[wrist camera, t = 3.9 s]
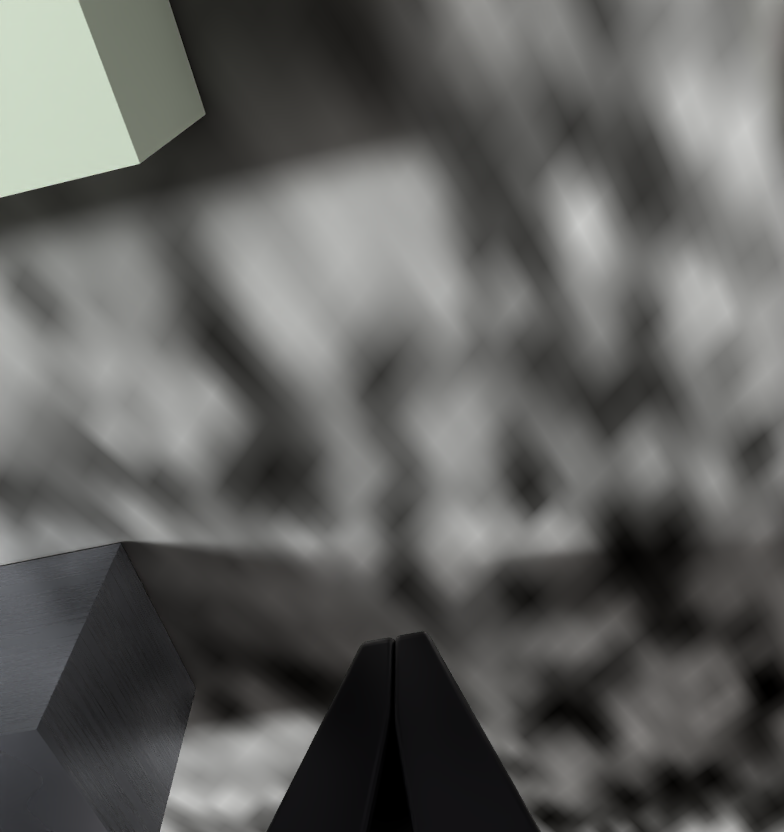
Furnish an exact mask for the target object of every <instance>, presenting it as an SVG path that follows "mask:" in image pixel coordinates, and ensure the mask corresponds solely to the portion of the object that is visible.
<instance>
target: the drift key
mask: <svg viewBox="0 0 784 832" xmlns="http://www.w3.org/2000/svg"><path fill="white" fill-rule="evenodd" d="M195 689H196V688H195V686H194V684H193V682H192V680H191V678H190V676H189V674H188V672H187V671H186V669H185V667H184V665H183V663H182V661H181V659H180V657H179V655H178V653H177V651H176V649H175V647H174V645H173V643H172V641H171V639H170V638H169V636H168V634H167V632H166V630H165V628H164V626H163V624H162V622H161V620H160V618H159V616H158V614H157V612H156V610H155V608H154V606H153V605H152V603H151V601H150V599H149V597H148V595H147V593H146V591H145V589H144V587H143V585H142V583H141V581H140V579H139V577H138V575H137V573H136V571H135V570H134V568H133V566H132V564H131V562H130V560H129V558H128V556H127V554H126V552H125V550H124V548H123V546H122V544H121V543H118V544H113V545H108V546H103V547H98V548H93V549H88V550H82V551H77V552H72V553H67V554H62V555H57V556H52V557H47V558H42V559H37V560H32V561H26V562H21V563H16V564H11V565H6V566H1V567H0V832H160V828H161V824H162V820H163V816H164V812H165V808H166V804H167V800H168V796H169V793H170V789H171V785H172V781H173V777H174V773H175V769H176V765H177V761H178V757H179V753H180V749H181V745H182V741H183V737H184V733H185V729H186V725H187V721H188V717H189V713H190V709H191V705H192V701H193V697H194V693H195Z"/></svg>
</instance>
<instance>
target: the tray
mask: <svg viewBox="0 0 784 832" xmlns="http://www.w3.org/2000/svg"><path fill="white" fill-rule="evenodd" d="M204 115H206V114H205V110H204V107H203V104H202V101H201V98H200V95H199V92H198V89H197V86H196V83H195V80H194V77H193V73H192V70H191V67H190V64H189V61H188V58H187V55H186V52H185V49H184V46H183V43H182V40H181V36H180V33H179V30H178V27H177V24H176V21H175V18H174V15H173V12H172V9H171V6H170V3H169V0H0V198H1V197H5V196H9V195H13V194H17V193H21V192H25V191H29V190H34V189H38V188H42V187H46V186H50V185H54V184H58V183H62V182H67V181H71V180H75V179H79V178H83V177H87V176H91V175H95V174H100V173H104V172H108V171H112V170H116V169H120V168H124V167H128V166H133V165H137V164H140V163H142V162H143V161H144V160H146V159H147V158H148V157H150V156H151V155H152V154H154V153H155V152H156V151H158V150H159V149H160V148H162V147H163V146H164V145H166V144H167V143H168V142H170V141H171V140H172V139H174V138H175V137H176V136H178V135H179V134H180V133H182V132H183V131H184V130H186V129H187V128H188V127H190V126H191V125H192V124H194V123H195V122H196V121H198V120H199V119H200V118H202V117H203V116H204Z"/></svg>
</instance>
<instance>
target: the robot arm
mask: <svg viewBox="0 0 784 832" xmlns="http://www.w3.org/2000/svg"><path fill="white" fill-rule="evenodd" d="M267 832H541V831H540V829H539V828H538V826H537V824H536V822H535V821H534V819H533V817H532V815H531V814H530V812H529V810H528V808H527V807H526V805H525V803H524V801H523V799H522V798H521V796H520V794H519V792H518V791H517V789H516V787H515V785H514V784H513V782H512V780H511V778H510V777H509V775H508V773H507V771H506V770H505V768H504V766H503V764H502V762H501V761H500V759H499V757H498V755H497V754H496V752H495V750H494V748H493V747H492V745H491V743H490V741H489V740H488V738H487V736H486V734H485V733H484V731H483V729H482V727H481V725H480V724H479V722H478V720H477V718H476V717H475V715H474V713H473V711H472V710H471V708H470V706H469V704H468V703H467V701H466V699H465V697H464V696H463V694H462V692H461V690H460V688H459V687H458V685H457V683H456V681H455V680H454V678H453V676H452V674H451V673H450V671H449V669H448V667H447V666H446V664H445V662H444V660H443V658H442V657H441V655H440V653H439V651H438V650H437V648H436V646H435V644H434V643H433V641H432V639H431V637H430V636H429V634H428V633H426V632H424V631H423V632H417V633H411V634H405V635H400V636H398V637H397V638H396V641H395V640H394V639H392V638H383V639H378V640H373V641H367V642H364V643H363V644H362V645H361V646H360V648H359V650H358V652H357V654H356V656H355V658H354V660H353V662H352V664H351V666H350V668H349V670H348V672H347V674H346V675H345V677H344V679H343V681H342V683H341V685H340V687H339V689H338V691H337V693H336V695H335V697H334V699H333V701H332V703H331V705H330V707H329V709H328V711H327V713H326V715H325V717H324V719H323V721H322V723H321V725H320V727H319V729H318V731H317V733H316V735H315V737H314V739H313V741H312V743H311V745H310V747H309V749H308V751H307V753H306V755H305V757H304V759H303V761H302V763H301V765H300V767H299V769H298V770H297V772H296V774H295V776H294V778H293V780H292V782H291V784H290V786H289V788H288V790H287V792H286V794H285V796H284V798H283V800H282V802H281V804H280V806H279V808H278V810H277V812H276V814H275V816H274V818H273V820H272V822H271V824H270V826H269V828H268V830H267Z"/></svg>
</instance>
